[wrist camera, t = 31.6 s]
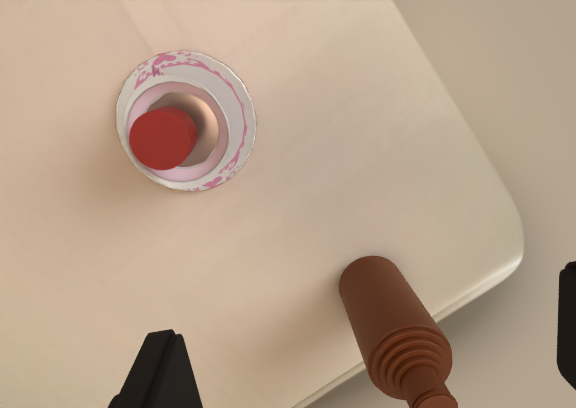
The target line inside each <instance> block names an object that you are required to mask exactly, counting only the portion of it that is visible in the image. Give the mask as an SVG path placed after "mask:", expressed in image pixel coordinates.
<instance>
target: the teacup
mask: <svg viewBox="0 0 576 408" xmlns="http://www.w3.org/2000/svg"><path fill="white" fill-rule="evenodd" d="M167 106H169V107H175V108H178V109H180V110H182V111H184V112H185V113H186V114H187V115H188V116H189V117H190V118H191V119H192V121H193V122H194V124H195V127H196V131H197V141H196V145H195V147H194V149H193V150H192V152H191V153H190V154H189V155H188V157H187V158H186V159H185V160H184V161H183V162H182V163H181V164H180V165H179V166H177V167H175V168H173V169H169V170H155V169H152V168H149V167H147V166H145V165H144V164H142V163H141V162H140V161H139V160H138V159H137V158H136V157H135V155H134V154H133V152H132V149H131V147H130V142H129V134H130V129H131V127H132V125H133V123H134V121H135V120H136V119H137V118H138V117H139V116H141V115H142V114H144V113H146V112H149V111H151V110H154V109H157V108H160V107H167ZM256 126H257V122H256V116H255V111H254V105H253V101H252V99H251V97H250V95H249V93H248V92H247V90H246V88H245V86H244V84H243V82H242V81H241V80H240V79H239V78H238V77H237V76H236V75H235V74H234V73H233V72H232V71H231V70H230V69H229V68H228V67H227V66H226V65H225V64H223V63H221V62H219V61H217V60H215V59H213V58H211V57H209V56H207V55H205V54H200V53H194V52H188V51H182V50H181V51H175V52H169V53H163V54H158V55H156V56H155V57H153V58H151V59H149V60H147V61H146V62H144V63H142V64H140V65H139V66H138V67H137V68H136V69H135V70H134V72H133V73H132V74H131V75H130V76H129V77H128V78H127V80H126V81H125V82H124V85H123V87H122V90H121V92H120V95H119V97H118V100H117V102H116V128H117V132H118V136H119V139H120V143H121V146H122V148H123V150H124V151H125V153H126V154H127V156H128V157H129V159H130V160H131V162H132V164H133V165H134V166H135V167H136V168H137V169H138V170H140V171H141V172H142V173H143V174H144V175H145V176H147V177H148V178H149V179H150V180H152V181H154V182H156V183H159V184H161V185H163V186H165V187H167V188H170V189H175V190H183V191H190V192H192V191H198V190H204V189H210V188H213V187H215V186H217V185H219V184H221V183H223V182H225V181H227V180H229V179H231V178H232V177H233V176H234V175H235V174H236V172H237V171H238V170H239V169H240V168H241V167H242V166H243V165H244V164H245V163H246V160H247V158H248V156H249V154H250V152H251V150H252V148H253V146H254V141H255V133H256Z"/></svg>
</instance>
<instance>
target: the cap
mask: <svg viewBox="0 0 576 408" xmlns="http://www.w3.org/2000/svg"><path fill="white" fill-rule="evenodd" d="M196 141H197V131H196V127H195V124H194V122H193V121H192V119H191V118H190V117H189V116H188V115H187V114H186V113H185V112H184V111H182V110H180V109H178V108H175V107H169V106H167V107H160V108H157V109H154V110H151V111H149V112H146V113H144V114H142V115H141V116H139V117H138V118H137V119H136V120H135V121H134V123H133V125H132V127H131V129H130V134H129V142H130V147H131V149H132V152H133V154H134V155H135V157H136V158H137V159H138V160H139V161H140V162H141V163H142V164H144V165H145V166H147V167H149V168H152V169H155V170H169V169H173V168H175V167H177V166H179V165H180V164H181V163H182V162H183V161H184V160H185V159H186V158H187V157H188V155H189V154H190V153H191V152H192V150H193V149H194V147H195V145H196Z"/></svg>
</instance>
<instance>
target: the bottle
mask: <svg viewBox="0 0 576 408" xmlns="http://www.w3.org/2000/svg"><path fill="white" fill-rule="evenodd" d="M339 292H340V295H341V298H342V301H343V304H344V307H345V309H346V312H347V315H348V318H349V321H350V323H351V326H352V329H353V332H354V335H355V338H356V340H357V343H358V346H359V349H360V352H361V354H362V357H363V360H364V363H365V366H366V368H367V371H368V374H369V376H370V379H371V380H372V382H373V384H374V385H375V386H376V387H377V388H378V389H380V390H381V391H382V392H383V393H385V394H386V395H388V396H390V397H393V398H396V399H401V400H406V401H407V403H408V405H409V407H410V408H458V404H457V402H456V399H455V398H454V397H453V396H452V395H451V394H450V392H449V390H448V389H447V387H446V385H445V383H444V382H445V381H446V379H447V378H448V376H449V374H450V371H451V368H452V350H451V347H450V344H449V342H448V340H447V339H446V337H445V336H444V334H443V333H442V331H441V330H440V329H439V327H438V326H437V324H436V323H435V321H434V320H433V318H432V317H431V316H430V314H429V313H428V311H427V310H426V308H425V307H424V305H423V304H422V303H421V301H420V300H419V298H418V297H417V295H416V294H415V293H414V291H413V290H412V288H411V287H410V285H409V284H408V282H407V281H406V280H405V278H404V277H403V275H402V274H401V272H400V271H399V270H398V268H397V267H396V265H395V264H393V263H392V262H391V261H390V260H388V259H386V258H383V257H379V256H368V257H363V258H360V259H358V260H356V261H354V262H353V263H351V264H350V265H349V266H348V267H347V268H346V269H345V271H344V272H343V274H342V276H341V279H340V283H339Z"/></svg>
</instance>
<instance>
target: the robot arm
mask: <svg viewBox="0 0 576 408" xmlns="http://www.w3.org/2000/svg"><path fill="white" fill-rule="evenodd" d="M558 303H559V304H558V305H559V306H558V336H557V365H558V369H559V371H560V373H561V375H562V376H563V377H564V379H566V381H567V382H568V383H569V384H570V385H571V386H572V387H573V388H574V389H575V390H576V261H575V262H569V263H568V264H567V265H566V267H565V269H563V270H561V272H560V275H559V302H558ZM108 408H203V406H202V403H201V399H200V395H199V392H198V388H197V385H196V381H195V378H194V374H193V371H192V367H191V363H190V360H189V356H188V353H187V349H186V346H185V342H184V339H183V336H182V335H181V334H176V335H175V332H174V331H173V330H172V329H170V330H164V331H158V332H152V333H148V335H147V336H146V338H145V340H144V342H143V345H142V347H141V349H140V351H139V353H138V355H137V357H136V359H135V362H134V364H133V366H132V368H131V370H130V372H129V374H128V376H127V379H126V381H125V383H124V385H123V387H122V389H121V391H120V393H119V394H118V395H116V396H115V397H114V398H113V399H112V401H111V402H110V404H109V406H108Z"/></svg>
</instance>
